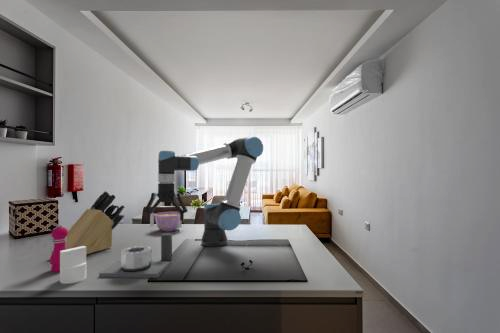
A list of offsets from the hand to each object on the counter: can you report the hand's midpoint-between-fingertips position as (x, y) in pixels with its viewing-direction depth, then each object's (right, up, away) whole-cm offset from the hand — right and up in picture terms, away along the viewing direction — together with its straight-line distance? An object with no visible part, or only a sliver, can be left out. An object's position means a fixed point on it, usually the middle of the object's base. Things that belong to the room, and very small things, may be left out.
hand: (165, 227), depth 137 cm
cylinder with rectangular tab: (-30, -16, -23) cm, 41 cm away
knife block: (-44, -16, +15) cm, 49 cm away
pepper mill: (-42, -16, -13) cm, 47 cm away
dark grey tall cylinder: (0, -16, 0) cm, 16 cm away
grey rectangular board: (-8, -16, -14) cm, 23 cm away
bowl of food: (-17, -16, +64) cm, 68 cm away
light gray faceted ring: (-8, -14, -14) cm, 22 cm away
